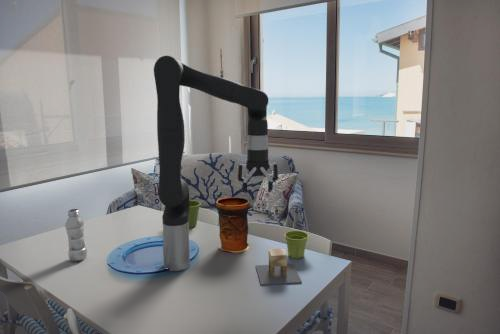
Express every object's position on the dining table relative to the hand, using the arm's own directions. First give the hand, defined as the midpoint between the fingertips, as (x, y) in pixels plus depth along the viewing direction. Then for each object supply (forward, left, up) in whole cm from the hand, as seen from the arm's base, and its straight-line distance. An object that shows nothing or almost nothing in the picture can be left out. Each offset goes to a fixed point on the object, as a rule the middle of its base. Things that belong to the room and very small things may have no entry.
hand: (257, 191), depth 136 cm
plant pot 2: (+16, +6, -28) cm, 33 cm away
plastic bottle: (-69, +12, -28) cm, 76 cm away
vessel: (-8, +18, -28) cm, 34 cm away
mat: (+6, -9, -28) cm, 30 cm away
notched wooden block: (+6, -9, -28) cm, 30 cm away
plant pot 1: (-28, +46, -28) cm, 61 cm away
